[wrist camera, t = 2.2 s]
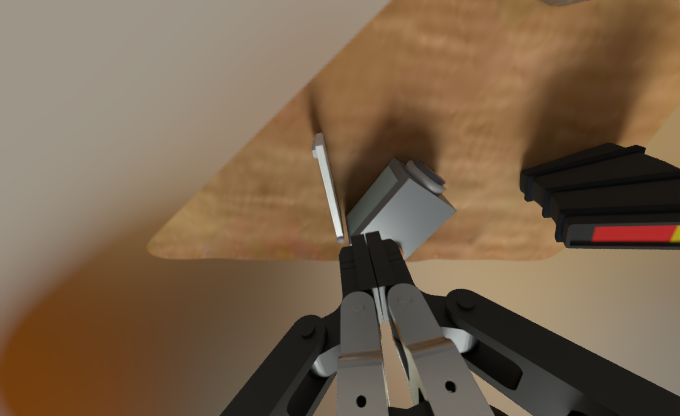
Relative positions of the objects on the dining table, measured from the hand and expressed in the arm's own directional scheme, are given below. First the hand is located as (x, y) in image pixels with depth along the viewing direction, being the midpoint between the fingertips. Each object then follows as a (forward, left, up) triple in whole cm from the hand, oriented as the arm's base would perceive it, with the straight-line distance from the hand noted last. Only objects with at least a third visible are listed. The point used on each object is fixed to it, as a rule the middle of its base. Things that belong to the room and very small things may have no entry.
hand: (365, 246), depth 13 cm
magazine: (-12, +25, -18) cm, 33 cm away
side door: (+5, +1, -18) cm, 18 cm away
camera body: (+3, +10, -18) cm, 20 cm away
